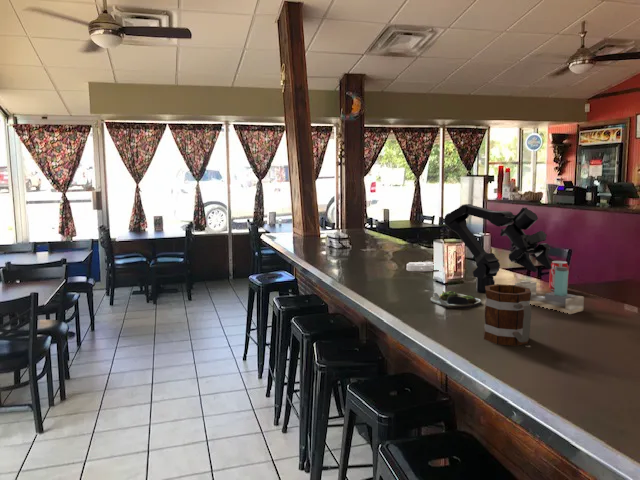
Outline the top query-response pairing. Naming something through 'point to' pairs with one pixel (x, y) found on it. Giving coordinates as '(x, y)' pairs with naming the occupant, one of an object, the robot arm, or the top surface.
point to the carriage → (560, 286)
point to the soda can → (552, 272)
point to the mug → (507, 314)
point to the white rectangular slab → (420, 266)
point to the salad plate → (455, 300)
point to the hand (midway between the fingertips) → (543, 270)
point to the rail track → (570, 307)
